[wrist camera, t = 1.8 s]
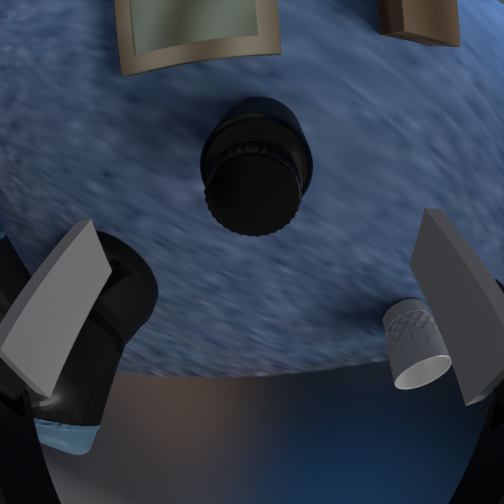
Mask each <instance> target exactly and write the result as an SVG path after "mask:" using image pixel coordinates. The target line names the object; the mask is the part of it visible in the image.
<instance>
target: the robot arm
mask: <svg viewBox="0 0 504 504" xmlns="http://www.w3.org/2000/svg"><path fill="white" fill-rule="evenodd" d="M409 266H410V268H411V270H412V272H413V274H414V276H415V278H416V280H417V282H418V284H419V286H420V288H421V290H422V292H423V294H424V296H425V298H426V301H427V303H428V305H429V307H430V309H431V312H432V314H433V316H434V318H435V321H436V323H437V326H438V328H439V330H440V333H441V335H442V338H443V340H444V343H445V345H446V348H447V350H448V353H449V356H450V359H451V361H452V364H453V367H454V370H455V372H456V376H457V378H458V381H459V385H460V388H461V390H462V394H463V397H464V401H465V404H466V406H467V405H469V404H472V403H475V402H478V401H481V400H483V399H484V398H485V397H486V396H487V395H488V394H490V392H492V390H494V392H495V397H494V398H493V399H492V400H491V401H490V402H489V403H487V404H486V405H485V406H484V407H483V408H482V409H481V410H480V412H479V413H478V414H479V415H481V414H483V413H484V412H485V411H486V410H488V409H489V410H488V413H486V414H485V415H484V417H485V418H486V419H485V422H484V425H483V428H482V431H481V434H480V437H479V439H478V442H477V445H476V447H475V450H474V452H473V455H472V457H471V459H470V462H469V464H468V466H467V468H466V471H465V473H464V475H463V477H462V479H461V481H460V483H459V485H458V487H457V489H456V491H455V493H454V495H453V496H452V498H451V500H450V502H449V503H448V504H504V286H503V285H502V284H501V283H500V282H499V281H498V280H497V279H494V278H493V276H492V275H491V273H490V272H489V270H488V269H487V268H486V266H485V265H484V263H483V262H482V261H481V259H480V258H479V256H478V255H477V254H476V252H475V251H474V250H473V248H472V247H471V246H470V244H469V243H468V242H467V240H466V239H465V238H464V237H463V235H462V234H461V233H460V232H459V230H458V229H457V228H456V227H455V226H454V224H453V223H452V222H451V221H450V220H449V218H448V217H447V216H446V215H445V214H444V213H443V211H442V210H441V209H430V208H425V209H424V213H423V218H422V222H421V225H420V229H419V233H418V237H417V240H416V244H415V247H414V251H413V254H412V257H411V261H410V264H409ZM157 299H158V286H157V282H156V279H155V277H154V275H153V273H152V271H151V269H150V268H149V266H148V265H147V264H146V262H145V261H144V260H143V259H142V258H141V257H140V256H139V255H138V254H137V253H136V252H135V251H134V250H133V249H132V248H130V247H129V246H128V245H126V244H125V243H123V242H122V241H120V240H118V239H116V238H114V237H112V236H110V235H107V234H104V233H101V232H96V231H95V228H94V226H93V223H92V220H82V221H77V222H76V224H75V225H74V226H73V227H72V228H71V229H70V230H69V231H68V233H67V234H66V235H65V236H64V237H63V238H62V240H61V241H60V242H59V243H58V244H57V246H56V247H55V248H54V249H53V250H52V252H51V253H50V254H49V255H48V257H47V258H46V259H45V260H44V262H43V263H42V264H41V266H40V267H39V268H38V269H37V271H36V272H35V273H34V275H33V276H31V275H30V273H29V272H28V270H27V269H26V267H25V266H24V264H23V263H22V261H21V259H20V258H19V256H18V254H17V253H16V251H15V249H14V247H13V246H12V244H11V242H10V240H9V239H8V237H7V235H6V229H5V226H4V224H2V223H0V504H61V503H60V500H59V498H58V495H57V493H56V490H55V488H54V485H53V483H52V480H51V477H50V474H49V471H48V468H47V466H46V462H45V459H44V456H43V453H42V449H41V446H40V442H41V443H43V444H46V445H48V446H51V447H53V448H56V449H59V450H61V451H64V452H67V453H70V454H74V455H82V454H85V453H87V452H88V451H89V450H90V448H91V446H92V443H93V440H94V437H95V434H96V432H97V430H98V429H99V428H100V422H101V419H102V415H103V412H104V408H105V405H106V402H107V398H108V395H109V392H110V388H111V385H112V382H113V379H114V376H115V373H116V370H117V367H118V364H119V361H120V358H121V355H122V353H123V350H124V347H125V345H126V344H127V343H128V342H129V340H130V339H131V338H132V337H133V336H134V334H135V333H136V332H137V331H138V330H139V328H140V327H141V326H142V325H144V324H145V323H146V322H147V321H148V319H149V318H150V316H151V315H152V313H153V310H154V307H155V305H156V302H157Z"/></svg>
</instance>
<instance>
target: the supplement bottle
mask: <svg viewBox="0 0 504 504" xmlns="http://www.w3.org/2000/svg"><path fill="white" fill-rule="evenodd" d="M200 172H201V177H202V181H203V183H204V186H205V190H204V193H205V195H206V198H205V201H206V203H207V204H208V209H209V210H210V211H211V213H212V216H213V217H214V218H216V220H217V222H218V223H220V224H222V225H223V227H224V228H227V229H229V230H230V231H232V232H236V233H238V234H240V235H247V236H261V235H268V234H270V233H275V232H276V231H277V230H279V229H283V227H284V226H285V225H287V224H289V223H290V221H291V219H293V218H294V217H295V214H296V212H297V211H298V210H299V204H300V203H301V201H302V199H301V198H302V197H303V196H304V194H305V193H306V191H307V189H308V187H309V185H310V182H311V178H312V173H313V160H312V155H311V151H310V148H309V145H308V143H307V140H306V138H305V136H304V133H303V131H302V129H301V126H300V124H299V122H298V120H297V118H296V117H295V115H294V114H293V112H292V111H291V110H290V109H289V108H288V107H286V106H285V105H284V104H282V103H280V102H279V101H276V100H274V99H270V98H265V97H255V98H249V99H246V100H243V101H241V102H239V103H238V104H236V105H235V106H233V107H232V108H231V109H230V110H229V111H228V112H227V113H226V114H225V116H224V117H223V118H222V120H221V121H220V122H219V123H218V125H217V126H216V127H215V129H214V130H213V131H212V133H211V134H210V136H209V137H208V139H207V141H206V142H205V145H204V147H203V150H202V153H201V158H200Z"/></svg>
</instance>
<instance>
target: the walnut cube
mask: <svg viewBox="0 0 504 504" xmlns="http://www.w3.org/2000/svg"><path fill="white" fill-rule="evenodd" d="M377 2H378V14H379V30H380V35H384V36H389V37H394V38H399V39H404V40H408V41H413V42H417V43H421V44H425V45H428V46H449V47H460V32H459V17H458V7H457V0H377Z"/></svg>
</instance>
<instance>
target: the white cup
mask: <svg viewBox="0 0 504 504" xmlns="http://www.w3.org/2000/svg"><path fill="white" fill-rule="evenodd" d="M382 321H383V327H384V331H385V335H386V337H385V339H386V343H387V349H388V353H389V359H390V364H391V368H392V373H393V378H394V384H395V386H396V387H397V388H400V389H412V388H416V387H420V386H422V385H425V384H427V383H430V382H432V381H433V380H435V379H437V378H438V377H440V376H441V375H442V374H444V373H445V372H446V371H447V370H448V368H449V367H450V365H451V363H452V361H451V359H450V356H449V353H448V350H447V348H446V345H445V343H444V340H443V338H442V336H441V334H440V332H439V330H438V328H437V326H436V324H435V322H434V320H433V318H432V317H431V315H430V314H429V312H428V310H427V308H426V306H425V304H424V303H423V302H422V301H421V300H419V299H414V298H411V299H406V300H402V301H400V302H398V303H396V304H394V305H393V306H392V307H391V308H389V309H388V310H387V311H386V313H385V315H384V317H383V319H382Z"/></svg>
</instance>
